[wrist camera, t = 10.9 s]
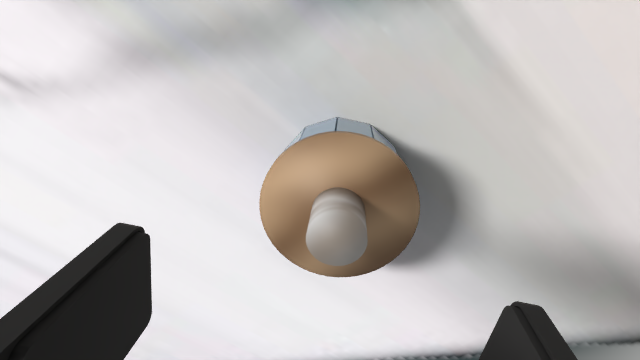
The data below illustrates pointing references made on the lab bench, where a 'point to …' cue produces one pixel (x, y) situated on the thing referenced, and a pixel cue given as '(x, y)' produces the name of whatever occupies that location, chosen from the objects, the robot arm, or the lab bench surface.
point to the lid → (339, 204)
